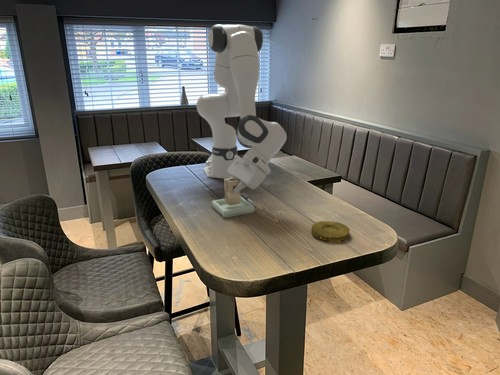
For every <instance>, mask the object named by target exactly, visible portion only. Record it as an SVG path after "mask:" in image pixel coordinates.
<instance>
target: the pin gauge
mask: <svg viewBox="0 0 500 375" xmlns="http://www.w3.org/2000/svg"><path fill="white" fill-rule="evenodd" d="M241 197H243V198H244V199H245V200H247V201H248V202H249V203H251V204H252V205H253V206H256V205H257V202H255V201H253V200H252V199H251V197H250V196H249V195H248V194H247V193H245V192H243V193H241Z"/></svg>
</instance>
